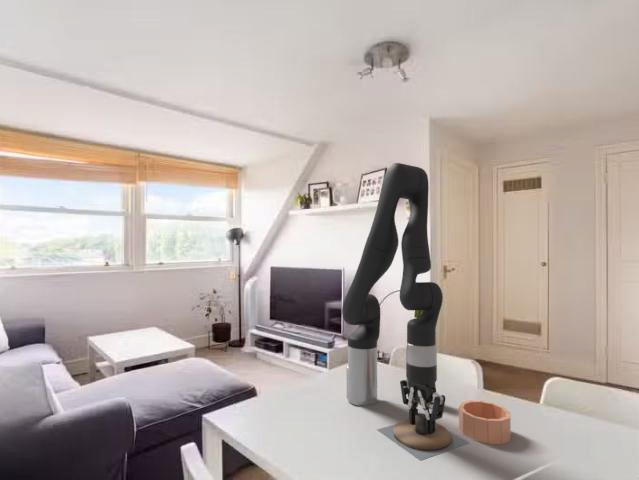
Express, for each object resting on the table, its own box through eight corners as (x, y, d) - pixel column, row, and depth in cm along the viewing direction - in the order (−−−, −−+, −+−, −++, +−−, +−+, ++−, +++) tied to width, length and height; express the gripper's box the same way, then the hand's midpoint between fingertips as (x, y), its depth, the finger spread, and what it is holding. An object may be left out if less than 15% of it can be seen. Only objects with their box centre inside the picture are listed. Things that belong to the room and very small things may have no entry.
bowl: (449, 428, 98) (449, 405, 98) (480, 418, 104) (480, 397, 104) (489, 450, 88) (489, 424, 88) (520, 438, 93) (520, 414, 94)
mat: (376, 431, 97) (376, 429, 97) (422, 418, 104) (422, 416, 104) (420, 462, 83) (420, 460, 83) (469, 444, 90) (469, 442, 90)
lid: (382, 430, 96) (382, 411, 96) (422, 418, 103) (422, 400, 103) (421, 457, 84) (420, 434, 84) (463, 441, 91) (463, 420, 91)
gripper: (454, 366, 89) (454, 437, 89) (412, 352, 102) (413, 414, 102) (431, 371, 86) (431, 445, 86) (391, 355, 99) (391, 420, 98)
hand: (421, 428), depth 94 cm, fingers open, 5 cm apart
